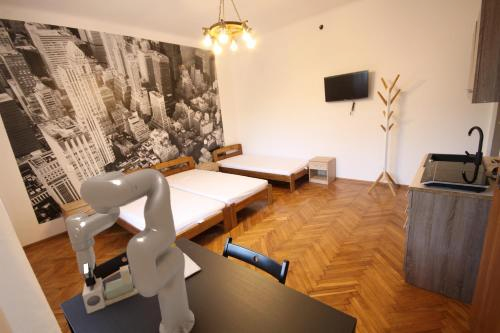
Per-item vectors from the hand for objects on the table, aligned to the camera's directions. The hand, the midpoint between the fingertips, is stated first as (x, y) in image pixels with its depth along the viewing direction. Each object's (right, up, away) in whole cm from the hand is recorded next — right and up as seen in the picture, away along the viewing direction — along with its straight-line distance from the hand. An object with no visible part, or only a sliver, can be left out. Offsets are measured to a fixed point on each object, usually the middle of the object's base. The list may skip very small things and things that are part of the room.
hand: (92, 278), depth 98 cm
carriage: (+11, -7, +3) cm, 13 cm away
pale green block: (+13, -8, +5) cm, 16 cm away
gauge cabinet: (+3, -10, -1) cm, 11 cm away
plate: (+31, -5, +16) cm, 35 cm away
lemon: (+25, -2, +29) cm, 38 cm away
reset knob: (+2, -1, -2) cm, 3 cm away
